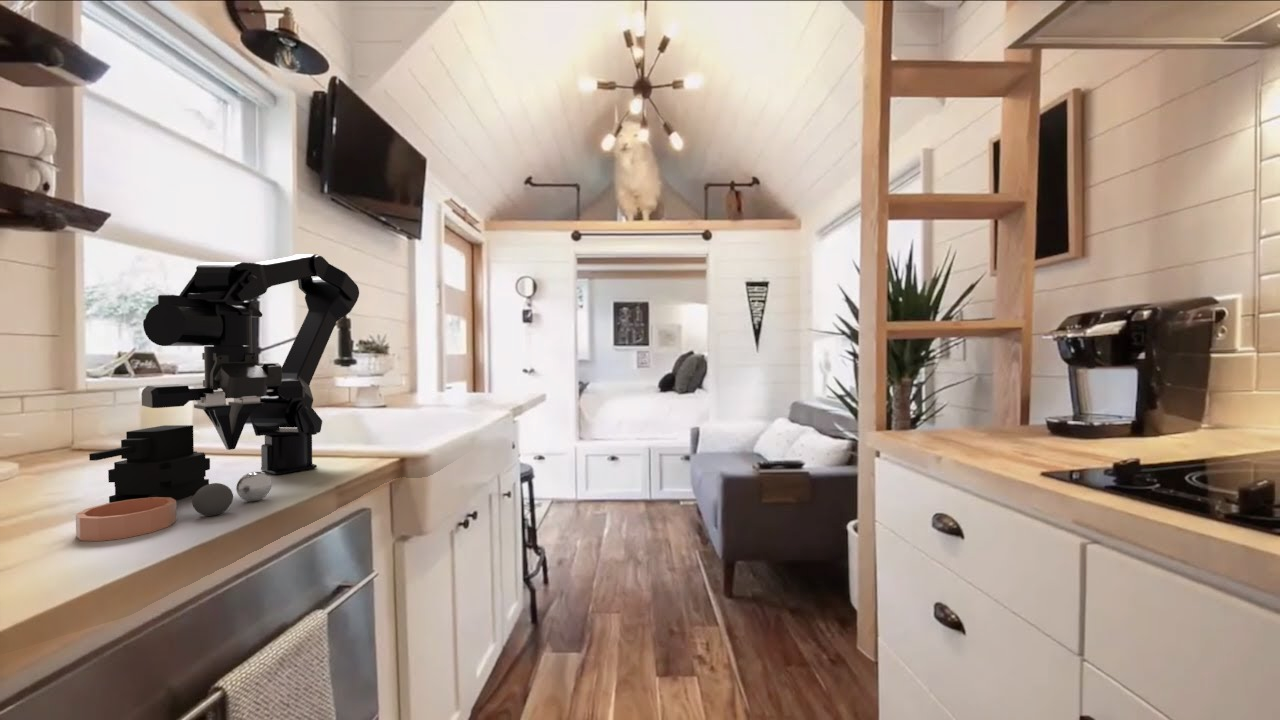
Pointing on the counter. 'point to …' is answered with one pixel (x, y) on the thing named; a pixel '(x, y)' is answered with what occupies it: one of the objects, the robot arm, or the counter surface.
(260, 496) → the steel ball
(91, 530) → the dish
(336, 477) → the counter surface
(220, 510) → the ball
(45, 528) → the counter surface
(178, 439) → the toy
